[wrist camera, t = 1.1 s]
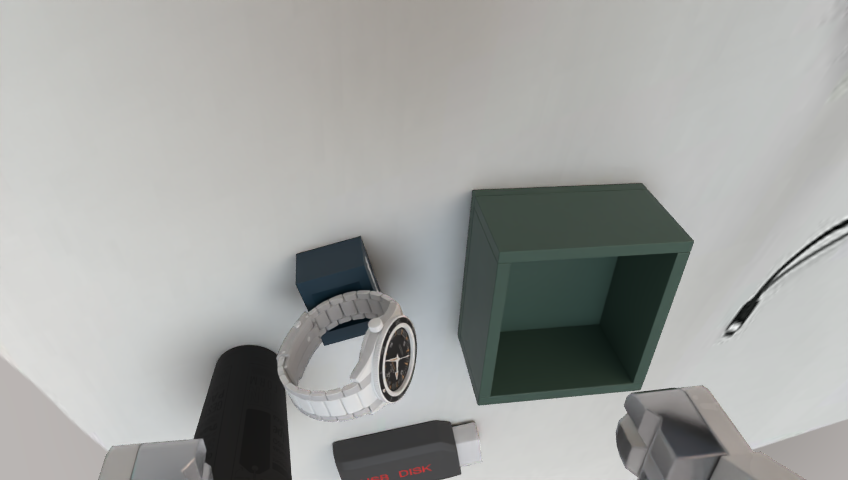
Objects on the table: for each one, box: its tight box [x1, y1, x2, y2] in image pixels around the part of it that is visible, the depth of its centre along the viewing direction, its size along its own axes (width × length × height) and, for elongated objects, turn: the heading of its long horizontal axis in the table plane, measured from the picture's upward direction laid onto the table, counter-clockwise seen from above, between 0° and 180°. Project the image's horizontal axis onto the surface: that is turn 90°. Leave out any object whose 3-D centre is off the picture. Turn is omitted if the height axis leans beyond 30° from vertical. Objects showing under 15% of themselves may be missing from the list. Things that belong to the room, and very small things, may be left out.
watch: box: [276, 236, 417, 422], centre depth 37 cm, size 6×8×11 cm
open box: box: [458, 183, 694, 405], centre depth 41 cm, size 13×12×7 cm
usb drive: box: [333, 421, 482, 480], centre depth 52 cm, size 5×12×3 cm, turn 98°
